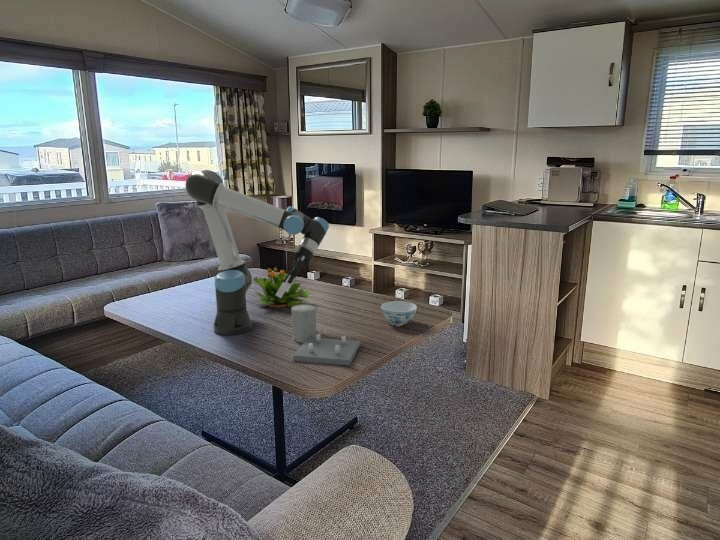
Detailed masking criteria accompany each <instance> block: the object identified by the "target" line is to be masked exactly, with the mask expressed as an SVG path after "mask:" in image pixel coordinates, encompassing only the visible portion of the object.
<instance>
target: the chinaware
mask: <svg viewBox="0 0 720 540" xmlns="http://www.w3.org/2000/svg"><path fill="white" fill-rule="evenodd" d="M380 308H381V312H382V315H383V316H384V318H385V320H387V321H388V322H390V324H391V323H392V324H397V325H398V324H405V323H406V324H408V323H409V322H410V321H411V320H413V318H414V316H415V315H416V311H417V308H418V307H417V305H416V304H414V303H412V302H409V301H404V300H403V301H401V300H400V301H399V300H396V301H394V300H393V301H392V300H391V301H388V302H384V303H382V304H381V305H380Z"/></svg>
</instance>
